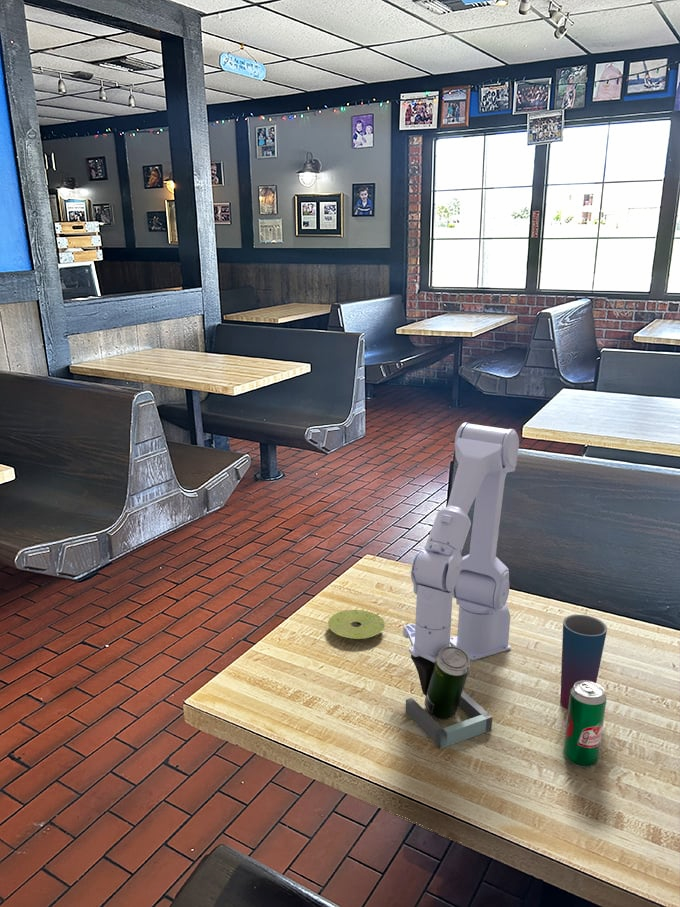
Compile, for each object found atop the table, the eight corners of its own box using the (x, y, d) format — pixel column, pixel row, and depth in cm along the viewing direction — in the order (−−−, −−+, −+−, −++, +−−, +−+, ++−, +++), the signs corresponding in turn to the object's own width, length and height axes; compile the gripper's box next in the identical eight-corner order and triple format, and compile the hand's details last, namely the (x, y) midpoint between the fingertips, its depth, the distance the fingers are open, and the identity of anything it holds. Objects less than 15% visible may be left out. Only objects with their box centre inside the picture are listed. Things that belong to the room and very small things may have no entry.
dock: (454, 696, 122) (455, 683, 121) (491, 730, 114) (492, 716, 113) (405, 712, 118) (405, 699, 117) (439, 749, 109) (440, 735, 108)
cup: (597, 696, 122) (607, 618, 118) (597, 720, 116) (607, 639, 112) (555, 688, 124) (564, 611, 120) (553, 711, 118) (562, 631, 114)
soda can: (578, 773, 105) (587, 702, 101) (555, 751, 109) (563, 683, 106) (605, 763, 106) (615, 694, 103) (581, 742, 111) (590, 675, 108)
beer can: (438, 727, 114) (453, 676, 108) (417, 703, 118) (430, 652, 112) (462, 713, 117) (478, 662, 111) (441, 690, 121) (455, 640, 115)
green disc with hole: (336, 614, 149) (336, 605, 148) (389, 622, 146) (389, 613, 145) (320, 642, 138) (320, 633, 138) (377, 651, 135) (377, 641, 135)
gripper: (389, 606, 120) (386, 676, 124) (438, 648, 108) (434, 725, 112) (424, 597, 123) (420, 666, 127) (476, 637, 111) (470, 712, 115)
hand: (429, 693), depth 120 cm, fingers closed
